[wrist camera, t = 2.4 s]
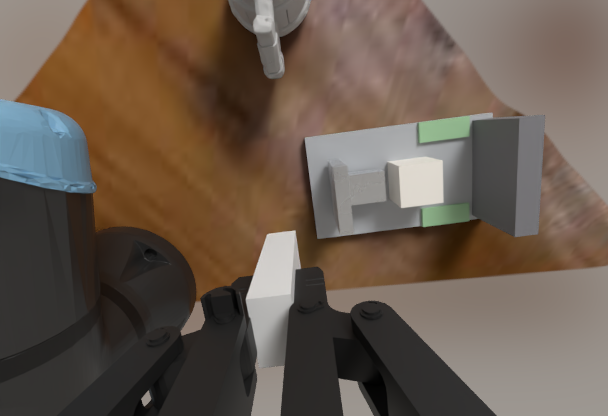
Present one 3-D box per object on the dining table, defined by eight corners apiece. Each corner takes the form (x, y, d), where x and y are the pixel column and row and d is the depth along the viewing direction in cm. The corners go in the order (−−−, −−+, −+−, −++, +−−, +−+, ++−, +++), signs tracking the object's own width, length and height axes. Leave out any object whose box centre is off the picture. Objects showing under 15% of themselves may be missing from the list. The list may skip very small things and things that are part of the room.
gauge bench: (317, 235, 36) (321, 266, 28) (304, 137, 33) (305, 140, 25) (484, 214, 35) (537, 239, 27) (485, 113, 32) (545, 108, 24)
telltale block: (389, 198, 33) (401, 208, 29) (387, 161, 32) (398, 166, 28) (427, 194, 33) (443, 202, 29) (425, 156, 32) (442, 160, 28)
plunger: (333, 216, 33) (340, 235, 27) (327, 160, 32) (332, 167, 26) (382, 210, 33) (399, 228, 27) (378, 153, 32) (395, 159, 26)
